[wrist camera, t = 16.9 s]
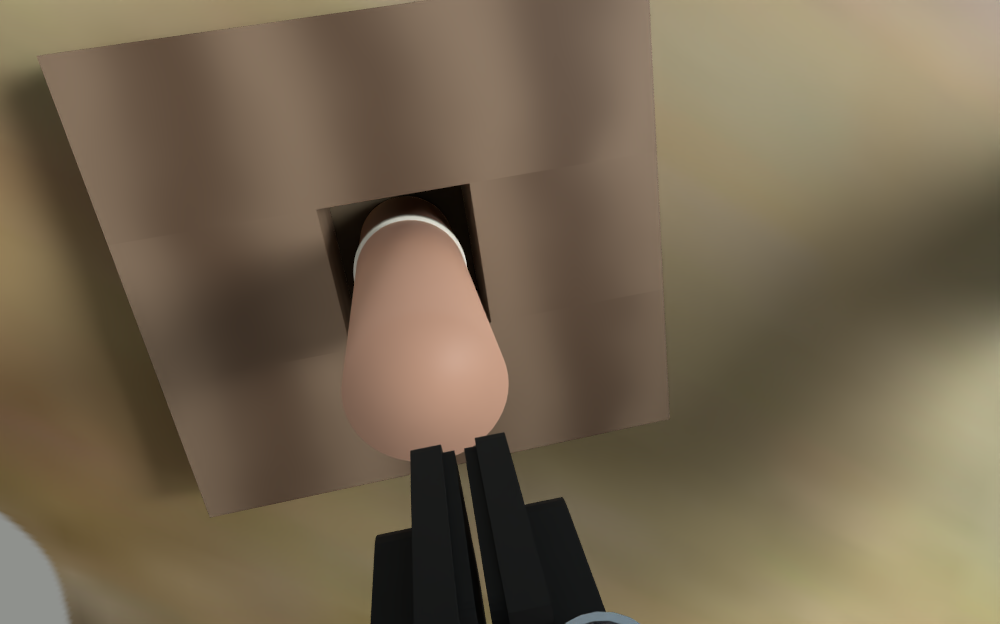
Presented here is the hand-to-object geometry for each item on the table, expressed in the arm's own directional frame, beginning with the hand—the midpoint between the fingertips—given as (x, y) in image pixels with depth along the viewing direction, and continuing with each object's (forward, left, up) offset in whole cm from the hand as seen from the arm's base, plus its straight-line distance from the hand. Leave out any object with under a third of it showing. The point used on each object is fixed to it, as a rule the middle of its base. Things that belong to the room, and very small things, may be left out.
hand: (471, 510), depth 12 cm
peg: (0, 0, -19) cm, 19 cm away
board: (+1, 0, -19) cm, 19 cm away
